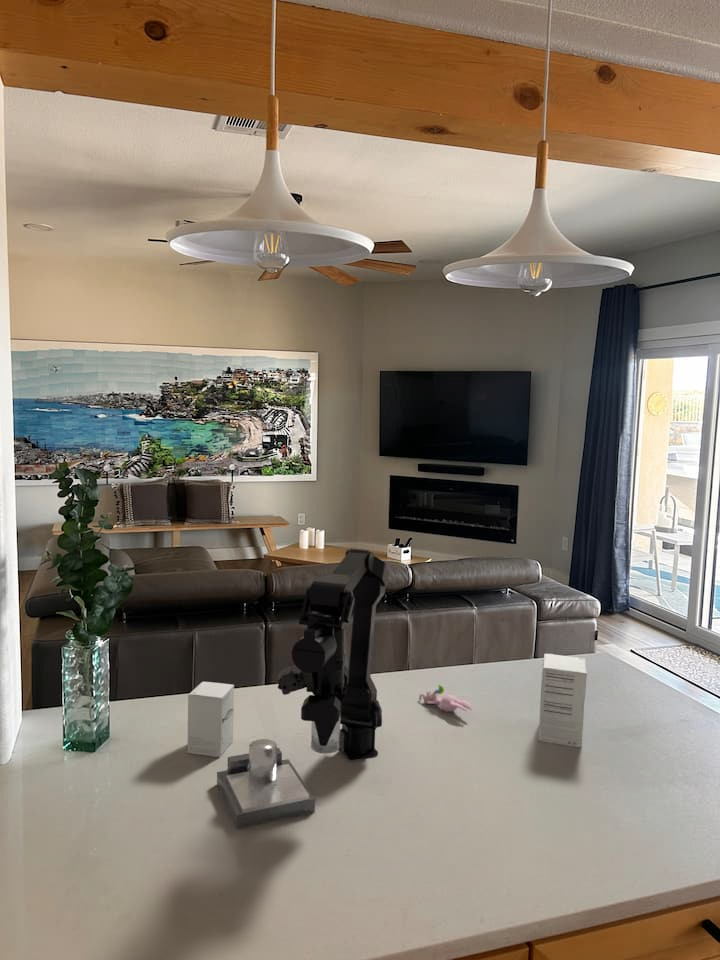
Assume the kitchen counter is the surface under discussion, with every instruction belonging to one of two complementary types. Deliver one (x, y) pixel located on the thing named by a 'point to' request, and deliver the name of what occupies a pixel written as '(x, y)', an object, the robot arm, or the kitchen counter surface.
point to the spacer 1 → (262, 761)
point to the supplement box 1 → (210, 718)
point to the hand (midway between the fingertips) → (325, 738)
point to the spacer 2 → (332, 743)
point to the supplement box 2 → (562, 700)
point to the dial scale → (263, 793)
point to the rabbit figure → (445, 701)
